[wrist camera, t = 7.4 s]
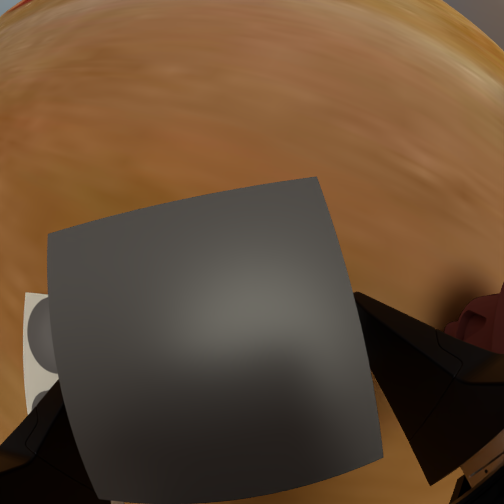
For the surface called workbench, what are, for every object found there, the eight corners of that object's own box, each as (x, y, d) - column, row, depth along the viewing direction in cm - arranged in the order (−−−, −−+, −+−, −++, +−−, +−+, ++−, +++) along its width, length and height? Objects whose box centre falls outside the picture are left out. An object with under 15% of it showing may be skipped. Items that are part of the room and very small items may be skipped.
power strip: (143, 568, 10) (135, 586, 7) (82, 549, 10) (70, 563, 7) (108, 302, 17) (88, 296, 14) (42, 297, 16) (18, 290, 14)
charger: (277, 369, 16) (382, 457, 3) (201, 384, 15) (98, 499, 3) (260, 292, 17) (313, 169, 4) (185, 307, 16) (48, 225, 4)
